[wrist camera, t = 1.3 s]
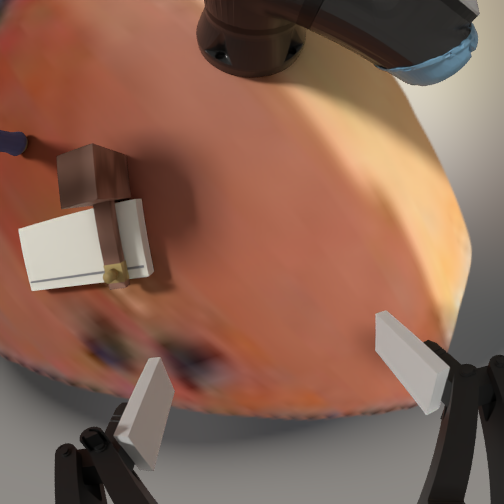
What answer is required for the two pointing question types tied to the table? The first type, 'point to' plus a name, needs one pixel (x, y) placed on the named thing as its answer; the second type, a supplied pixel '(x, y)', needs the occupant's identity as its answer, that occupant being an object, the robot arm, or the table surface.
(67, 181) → the block
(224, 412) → the table surface
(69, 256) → the board
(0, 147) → the rubber mallet
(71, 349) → the table surface
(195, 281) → the table surface
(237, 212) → the table surface
